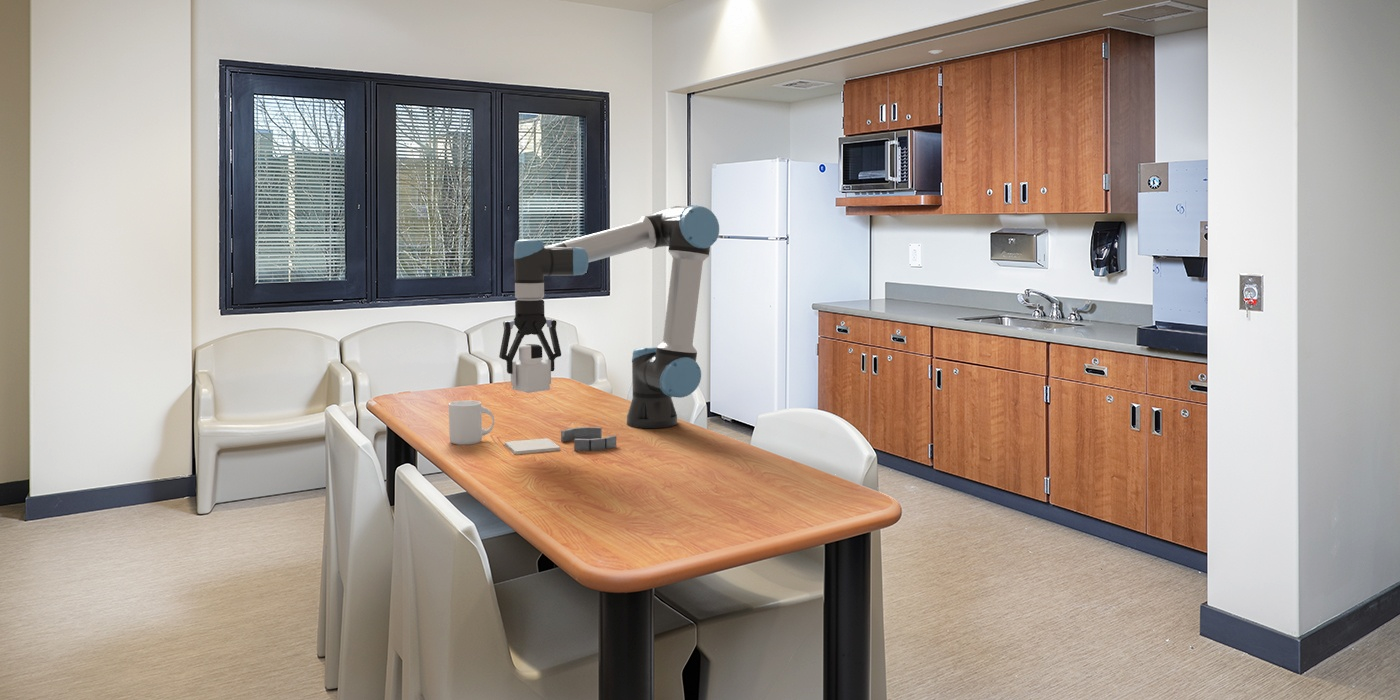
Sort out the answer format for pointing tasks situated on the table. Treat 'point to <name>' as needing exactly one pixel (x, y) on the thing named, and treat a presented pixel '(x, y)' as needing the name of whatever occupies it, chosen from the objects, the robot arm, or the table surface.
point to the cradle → (588, 444)
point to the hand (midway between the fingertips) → (531, 384)
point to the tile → (532, 446)
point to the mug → (467, 422)
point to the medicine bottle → (531, 370)
